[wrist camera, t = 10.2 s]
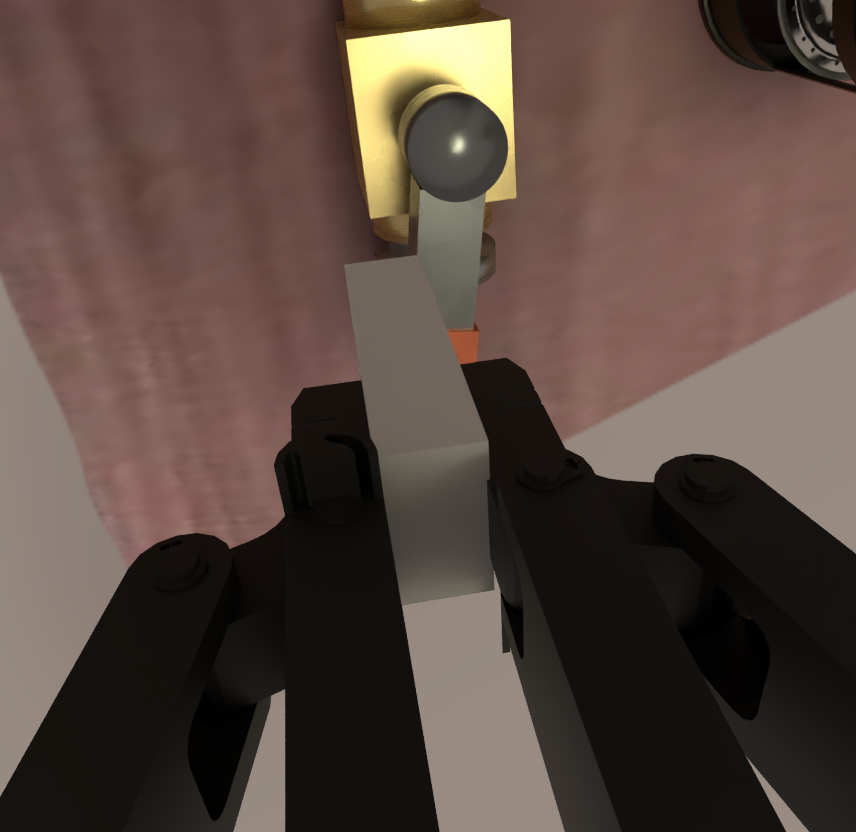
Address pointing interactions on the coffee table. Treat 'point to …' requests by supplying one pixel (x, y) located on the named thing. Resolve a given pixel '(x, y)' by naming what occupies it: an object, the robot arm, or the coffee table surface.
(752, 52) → the french press
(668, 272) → the coffee table surface
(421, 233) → the lever
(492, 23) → the pipe valve
